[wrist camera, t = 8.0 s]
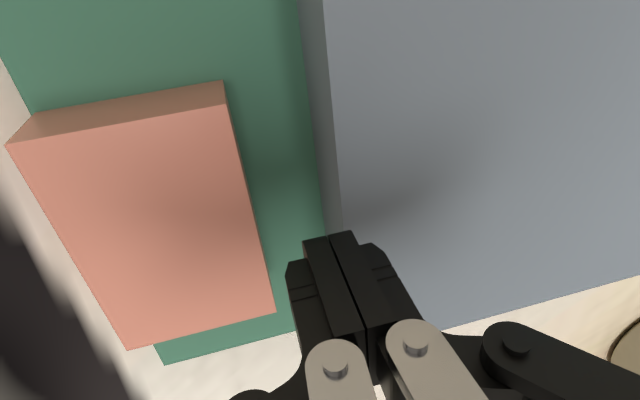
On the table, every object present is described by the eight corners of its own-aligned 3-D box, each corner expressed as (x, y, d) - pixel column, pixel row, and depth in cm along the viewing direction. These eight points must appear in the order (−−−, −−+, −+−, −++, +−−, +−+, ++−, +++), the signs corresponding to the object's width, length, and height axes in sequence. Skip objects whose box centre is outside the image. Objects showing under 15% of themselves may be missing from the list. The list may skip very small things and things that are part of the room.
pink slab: (226, 104, 12) (222, 79, 14) (3, 144, 11) (34, 112, 13) (276, 312, 17) (268, 271, 19) (126, 350, 16) (135, 304, 18)
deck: (292, -17, 13) (322, -1, 10) (709, -78, 15) (845, -82, 12) (331, 289, 21) (355, 354, 18) (603, 219, 23) (669, 266, 20)
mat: (-52, -52, 11) (-57, -52, 11) (282, -93, 12) (284, -93, 12) (164, 360, 21) (164, 365, 21) (334, 315, 22) (336, 319, 22)
